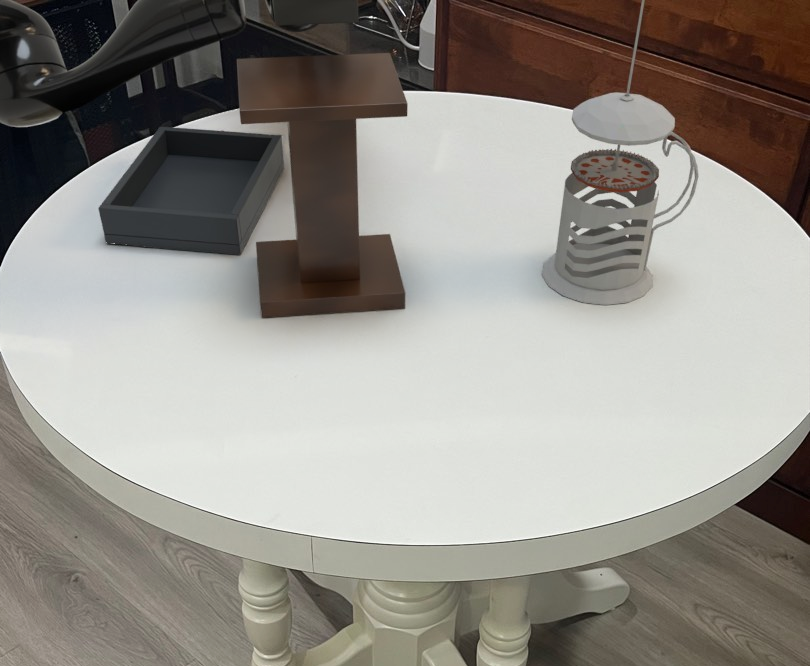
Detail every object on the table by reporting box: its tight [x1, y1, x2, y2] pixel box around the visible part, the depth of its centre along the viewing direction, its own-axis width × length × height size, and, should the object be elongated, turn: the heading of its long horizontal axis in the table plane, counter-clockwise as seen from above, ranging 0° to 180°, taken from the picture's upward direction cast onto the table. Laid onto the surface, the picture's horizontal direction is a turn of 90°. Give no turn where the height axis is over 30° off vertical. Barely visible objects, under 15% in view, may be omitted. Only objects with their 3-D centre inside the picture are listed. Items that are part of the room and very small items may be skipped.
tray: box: [97, 126, 285, 256], centre depth 95 cm, size 18×13×4 cm
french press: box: [541, 0, 699, 306], centre depth 79 cm, size 10×12×25 cm
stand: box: [236, 52, 409, 319], centre depth 80 cm, size 12×10×17 cm
